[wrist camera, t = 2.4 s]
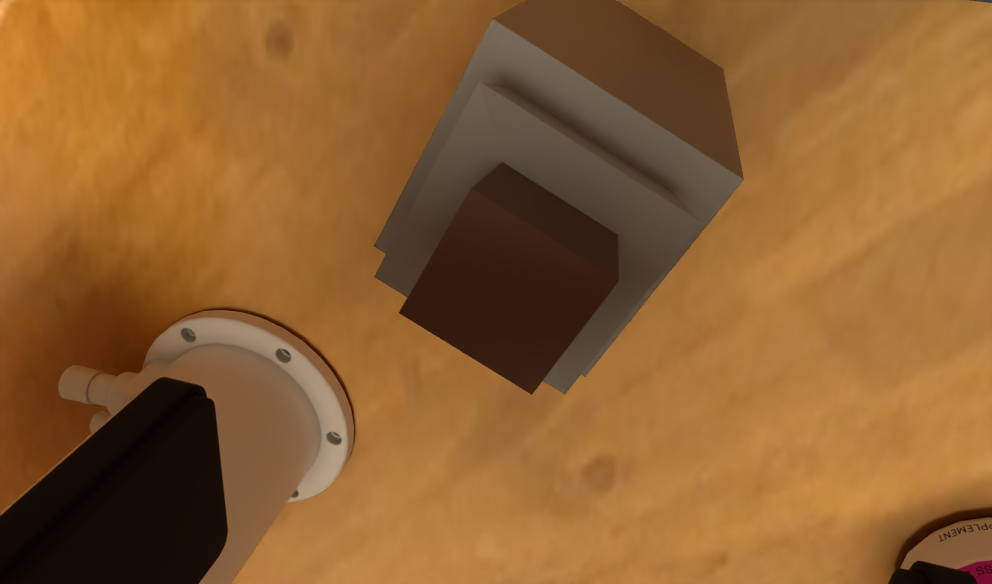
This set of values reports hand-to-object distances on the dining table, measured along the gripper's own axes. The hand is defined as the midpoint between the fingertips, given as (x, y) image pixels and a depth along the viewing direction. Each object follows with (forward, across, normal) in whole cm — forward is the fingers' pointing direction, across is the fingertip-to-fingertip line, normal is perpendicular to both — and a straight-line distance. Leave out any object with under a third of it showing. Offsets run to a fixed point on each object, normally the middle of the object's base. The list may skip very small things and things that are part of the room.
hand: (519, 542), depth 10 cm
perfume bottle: (+23, +2, -1) cm, 23 cm away
